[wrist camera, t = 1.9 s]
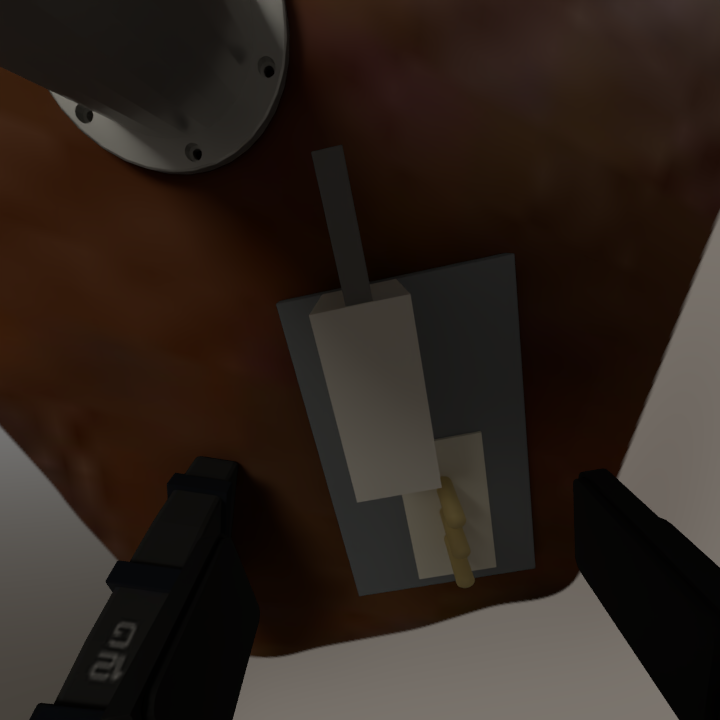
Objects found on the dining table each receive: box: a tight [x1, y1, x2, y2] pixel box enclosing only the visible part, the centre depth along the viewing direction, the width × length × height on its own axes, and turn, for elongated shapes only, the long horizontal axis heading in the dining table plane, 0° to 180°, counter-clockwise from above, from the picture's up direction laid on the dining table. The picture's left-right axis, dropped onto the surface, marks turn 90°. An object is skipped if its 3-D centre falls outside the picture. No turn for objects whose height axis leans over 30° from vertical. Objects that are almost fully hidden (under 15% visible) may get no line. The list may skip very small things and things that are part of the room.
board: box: [276, 253, 535, 596], centre depth 23 cm, size 24×14×5 cm, turn 12°
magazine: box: [30, 456, 238, 720], centre depth 23 cm, size 4×13×15 cm, turn 169°
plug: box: [309, 145, 442, 503], centre depth 19 cm, size 16×4×6 cm, turn 12°
